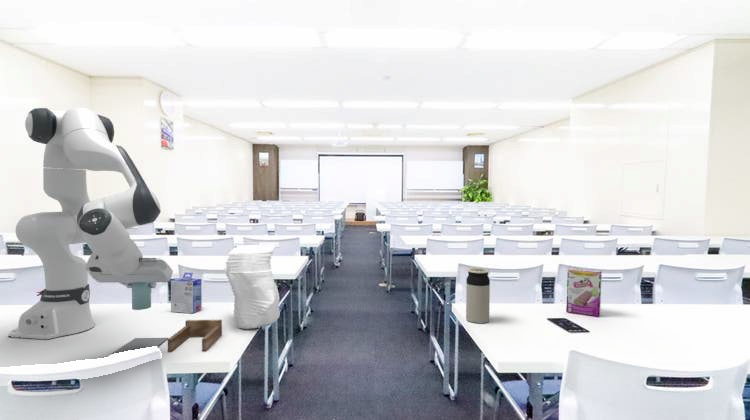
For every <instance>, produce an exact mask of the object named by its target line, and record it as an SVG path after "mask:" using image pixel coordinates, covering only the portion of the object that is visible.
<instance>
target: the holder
mask: <svg viewBox="0 0 750 420" xmlns="http://www.w3.org/2000/svg"><path fill="white" fill-rule="evenodd" d="M222 323H223V320H222V319H186V320H185V323H184V324H185V325H184V326H183V327H182V328H180V330H178V331H177V332H175V333H174V334H173V335H172V336H170V337H168V340H167V352H168V353H169V352H171V353H172V352H174V351H175V350H176V349H177V348H178V347H180V346H181V345H182V344H183V343H184V342H186V341H187V340H188V339H189V338H201V337H202V338H201V351H202V352H207V351H208V350H210V348H212V346H213V345H214V344H215V343H216V342H217V341H218V340H219V339H220V338H221V336H222V335H223V324H222Z"/></svg>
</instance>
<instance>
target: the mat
mask: <svg viewBox="0 0 750 420" xmlns="http://www.w3.org/2000/svg"><path fill="white" fill-rule="evenodd" d="M168 339H169V337H135V338H133V339H132V340H129V342H127V343H126V344H124V345H122V346H121V347H119V348H118V349H116V350H115V351H113V352H111V353H110V354H114V353H119V352H124V351H128V350H135V349H140V348H146V347H152V346H158V347H160V346H161V345H163V344H164V343H165V342H167V341H168Z"/></svg>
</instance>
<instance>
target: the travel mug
mask: <svg viewBox="0 0 750 420" xmlns="http://www.w3.org/2000/svg"><path fill="white" fill-rule="evenodd" d="M466 271H467V272H468V273H467V274H468V275H467V277H466V285H465V289H466V292H465V293H466V295H465V301H466V302H465V303H466V304H465V306H466V308H465V313H466V314H465V319H466V320H467V321H468V322H470V323H473V324H485V323H488V322H489V321H490V301H491V300H490V298H491V297H490V291H491V290H490V287H491V282H490V280H491V279H490V278H489V273H490V270H489V269H487V268H482V267H481V268H480V267H471V268H468V269H467V270H466Z"/></svg>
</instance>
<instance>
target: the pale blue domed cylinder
mask: <svg viewBox="0 0 750 420" xmlns="http://www.w3.org/2000/svg"><path fill="white" fill-rule="evenodd" d="M148 284H149V282H132V288H131V309H132V310H134V311H142V310H147V309H150V308H152V288H149V287H148Z"/></svg>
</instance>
